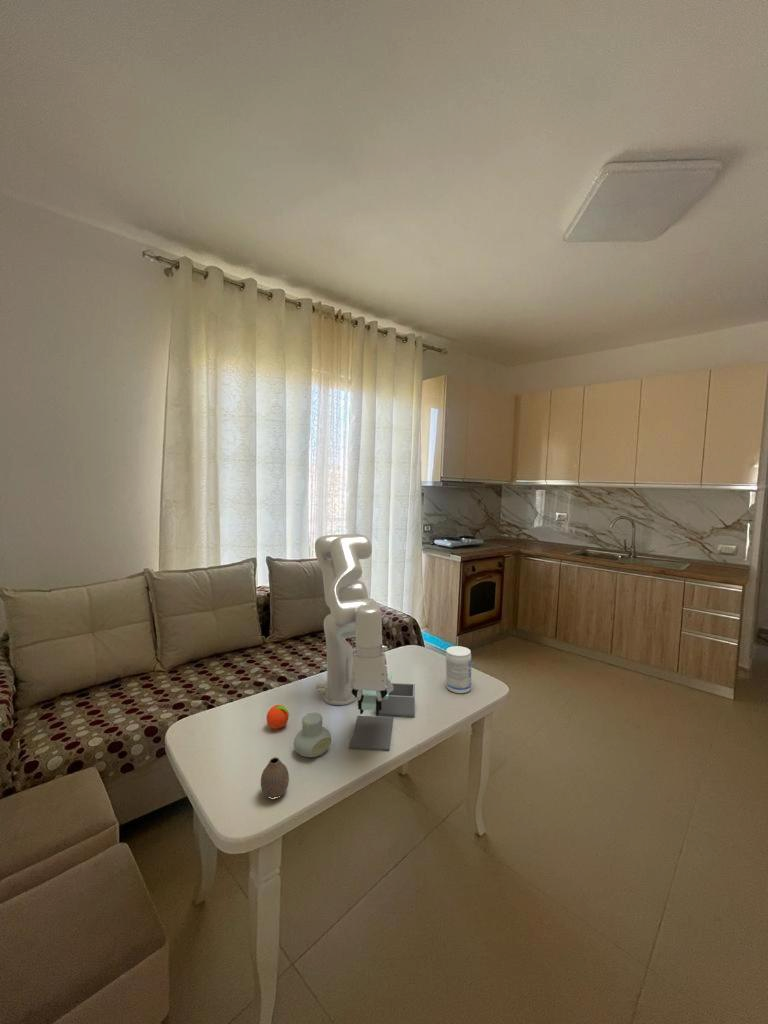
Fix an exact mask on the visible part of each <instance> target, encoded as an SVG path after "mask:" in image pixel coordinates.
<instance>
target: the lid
mask: <svg viewBox="0 0 768 1024" xmlns="http://www.w3.org/2000/svg"><path fill="white" fill-rule="evenodd" d="M387 675H388V679H389V680H390V682H391V683H392V677H393V676H392V674H391V673H389V674H388V673H387ZM386 688H387V686H386ZM362 695H363V696H364V698H363V701H362V710H364V711H367V710H368V711H376V699H377V694H376V691H367V690H363V692H362ZM388 696H389V693H388V694H387V695H386V696H385V697H384V698H383V699H386V700H388ZM354 698H356V697H355V696H354ZM356 699H357V698H356Z"/></svg>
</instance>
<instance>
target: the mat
mask: <svg viewBox="0 0 768 1024" xmlns="http://www.w3.org/2000/svg"><path fill="white" fill-rule="evenodd" d="M393 725H394V716H376V715H374V716H373V715H357V717H356V721H355V724H354V727H353V731H352V735H351V738H350V742H349V745H348V749H350V750H363V751H364V750H367V751H385V752H390V748H391V742H392V741H391V740H392V733H393V732H392V731H393Z"/></svg>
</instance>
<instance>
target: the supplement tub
mask: <svg viewBox="0 0 768 1024" xmlns="http://www.w3.org/2000/svg"><path fill="white" fill-rule="evenodd" d="M445 650H446V651H445V652H446V653H445V678H446V679H445V681H446V682H445V683H446V684H445V685H446V688H447V689H448V690H449V691H451V692H452V693H456V694H466V693H468V692H469V691H470V690H471V689H472V652H471V649H469V648H468V647H465V646H460V645H454V646H450V647H447V648H446V649H445Z"/></svg>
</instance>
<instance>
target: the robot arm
mask: <svg viewBox="0 0 768 1024" xmlns="http://www.w3.org/2000/svg"><path fill="white" fill-rule="evenodd" d="M372 547H373V546H372V543H371V541H370V538H368V536H366V535H364V534H361V533H360V534H359V533H346V534H344V533H343V534H330V535H323V536H320V537H318V538H317V539H316V540H315V543H314V553H315V557H316V561H317V562H318V565H319V566H320V567H319V568H320V570H321V572H322V573H321V574H322V580H323V591H324V600H325V604H326V606H327V607H328V608H329V611H330V613H329V614H327V615H326V616H325V617H324V620H323V632H324V637H325V644H326V645H325V646H326V647H325V648H326V681H327V682H325V683H316V685H315V689H316V690H317V692H318V693H323V695H322V696H323V700H324V702H326V703H327V704H329V705H332V706H345V705H349V704H351V703H353V702H355V701H356V700H357V710H358V711H359V714H360V715H363V714H364V711H365V710H362V701H363V698H364V696H363V695H362V692H363V690H367V691H376V694H377V699H376V710H375V715H376V714H377V715H379V710H381V709H382V699H383V698H384V697H385V696H386V695H387V694H388V693H390V692H391V691H393V689H394V686H393V685H392V683H393V682H392V681H391V682H390V680H389V679H388V675H387V674H388V663H387V657H386V653H385V651H388V646H387V645H384V644H383V632H382V631H383V629H382V628H383V627H382V624H383V623H382V620H383V619H382V615H383V614H382V610H381V608H380V607H379V604H378V603H377V601H376V600H375V599H373V598H369V594H368V589H367V587H366V584H365V583H364V581H361V580H360V579H361V578H362V575H363V568H362V566H361V562H360V560H366V559H369V558H370V557H371V555H372V552H373V548H372ZM354 637H355V651H353V650H354V649H353V647H352V646H351V644H350V643H349V641H347V640H346V639H349V638H354ZM353 652H354V653H353ZM386 686H387V688H386ZM354 696H355V697H356V698H354Z"/></svg>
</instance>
